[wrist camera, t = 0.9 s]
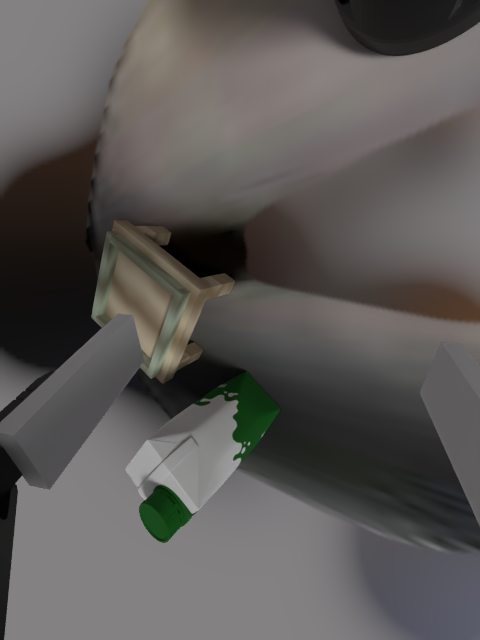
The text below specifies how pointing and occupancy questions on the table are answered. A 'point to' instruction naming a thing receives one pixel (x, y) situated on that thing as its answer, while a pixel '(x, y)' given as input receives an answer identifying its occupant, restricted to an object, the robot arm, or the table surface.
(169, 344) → the stool
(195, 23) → the table surface
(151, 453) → the milk carton
